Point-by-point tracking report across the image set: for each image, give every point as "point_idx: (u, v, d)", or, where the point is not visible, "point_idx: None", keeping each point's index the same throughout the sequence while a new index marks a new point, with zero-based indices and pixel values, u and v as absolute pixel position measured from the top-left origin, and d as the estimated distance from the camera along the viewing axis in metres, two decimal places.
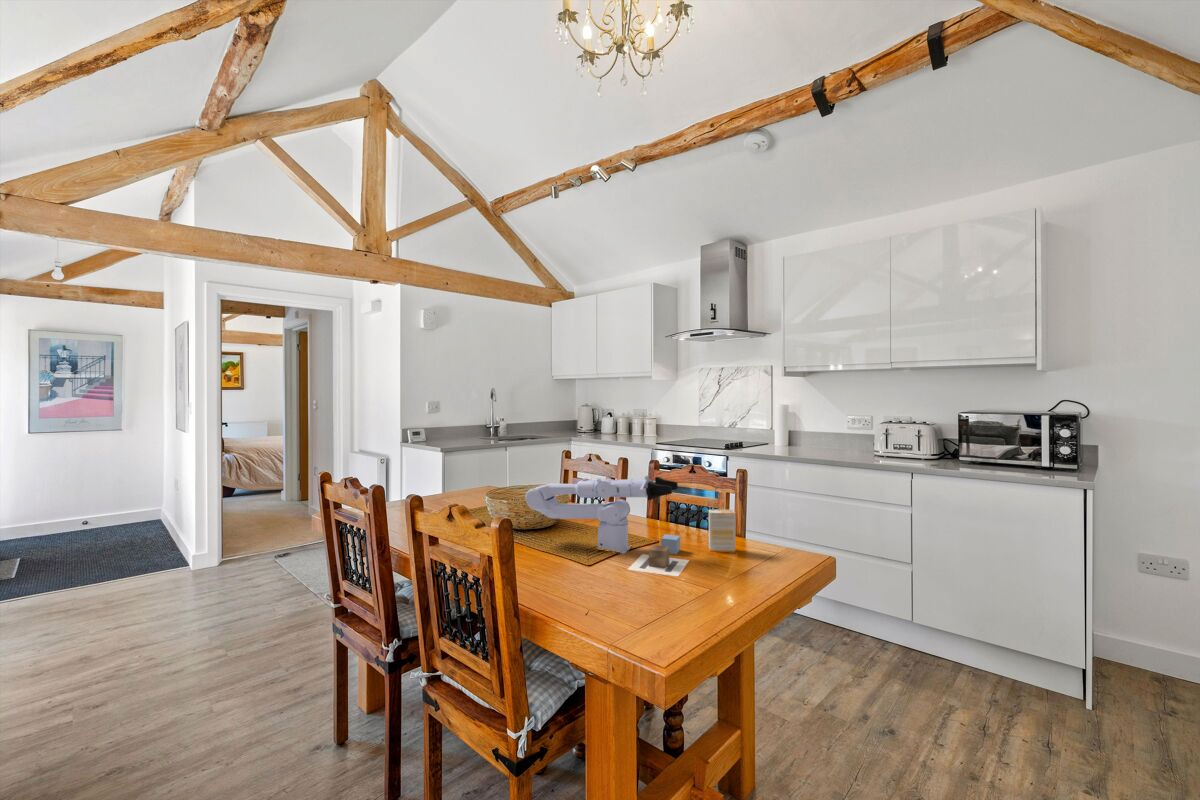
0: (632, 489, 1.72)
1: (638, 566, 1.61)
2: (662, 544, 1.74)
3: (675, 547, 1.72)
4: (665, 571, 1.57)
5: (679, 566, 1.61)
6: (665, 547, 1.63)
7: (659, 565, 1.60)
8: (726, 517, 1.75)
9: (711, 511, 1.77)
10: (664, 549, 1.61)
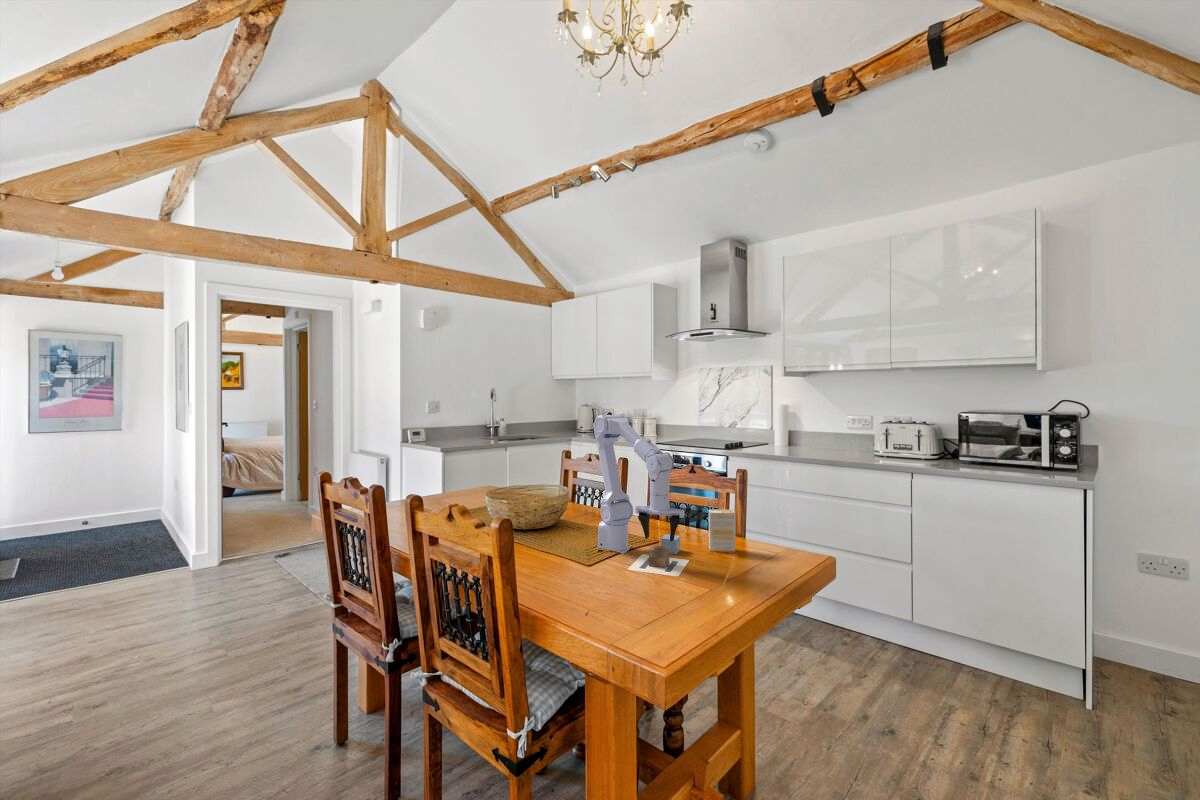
0: None
1: (638, 566, 1.61)
2: (662, 544, 1.74)
3: (675, 547, 1.72)
4: (665, 571, 1.57)
5: (679, 566, 1.61)
6: (665, 547, 1.63)
7: (659, 565, 1.60)
8: (726, 517, 1.75)
9: (711, 511, 1.77)
10: (664, 549, 1.61)
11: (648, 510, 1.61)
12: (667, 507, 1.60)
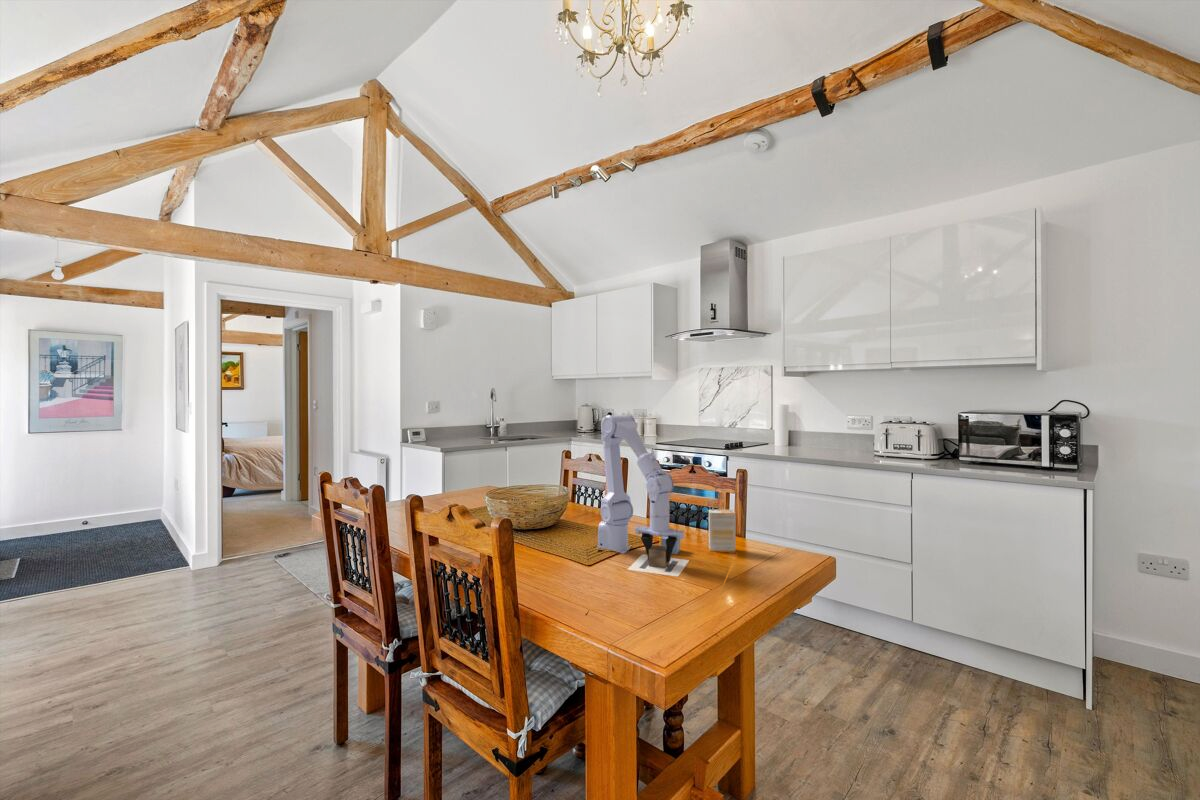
0: None
1: (638, 566, 1.61)
2: (662, 544, 1.74)
3: (675, 547, 1.72)
4: (665, 571, 1.57)
5: (679, 566, 1.61)
6: (665, 547, 1.63)
7: (659, 565, 1.60)
8: (726, 517, 1.75)
9: (711, 511, 1.77)
10: (664, 549, 1.61)
11: (648, 531, 1.61)
12: (667, 528, 1.60)
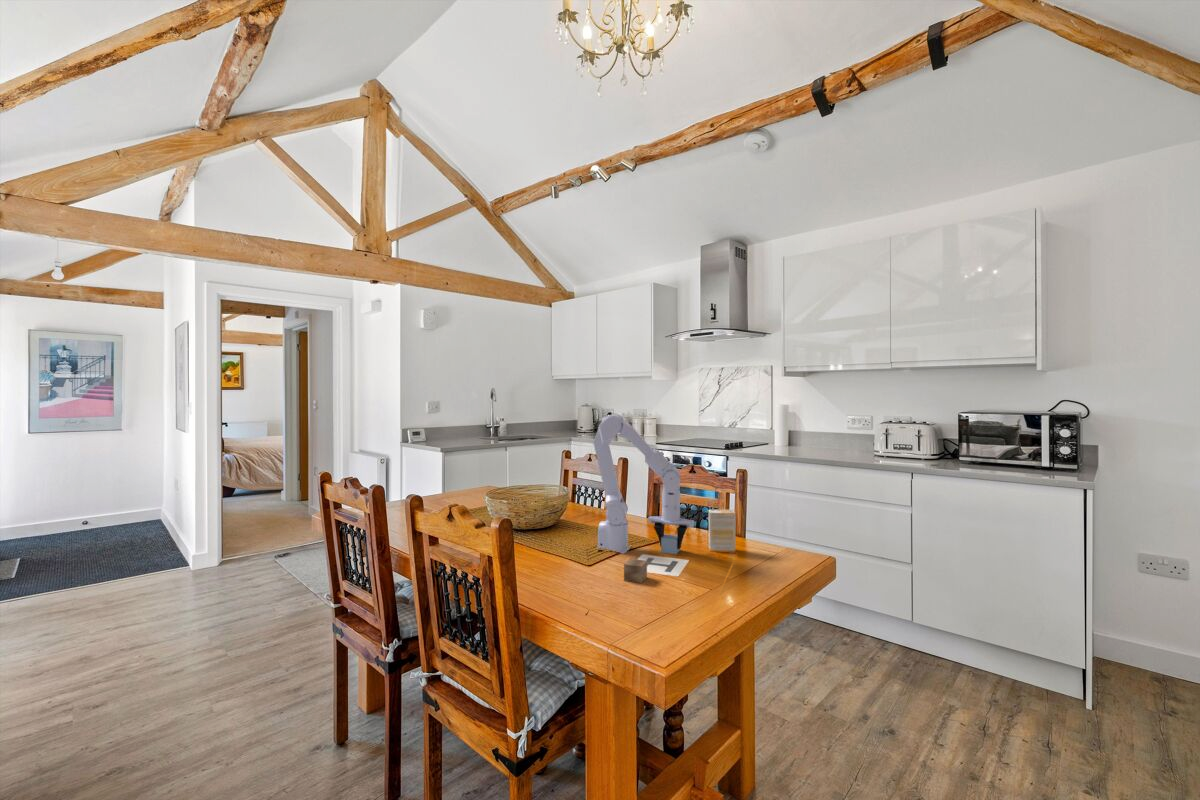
0: None
1: None
2: (662, 544, 1.74)
3: (675, 547, 1.72)
4: (665, 571, 1.57)
5: (679, 566, 1.61)
6: (642, 561, 1.51)
7: (635, 581, 1.48)
8: (726, 517, 1.75)
9: (711, 511, 1.77)
10: (641, 564, 1.49)
11: (660, 520, 1.74)
12: (678, 518, 1.73)
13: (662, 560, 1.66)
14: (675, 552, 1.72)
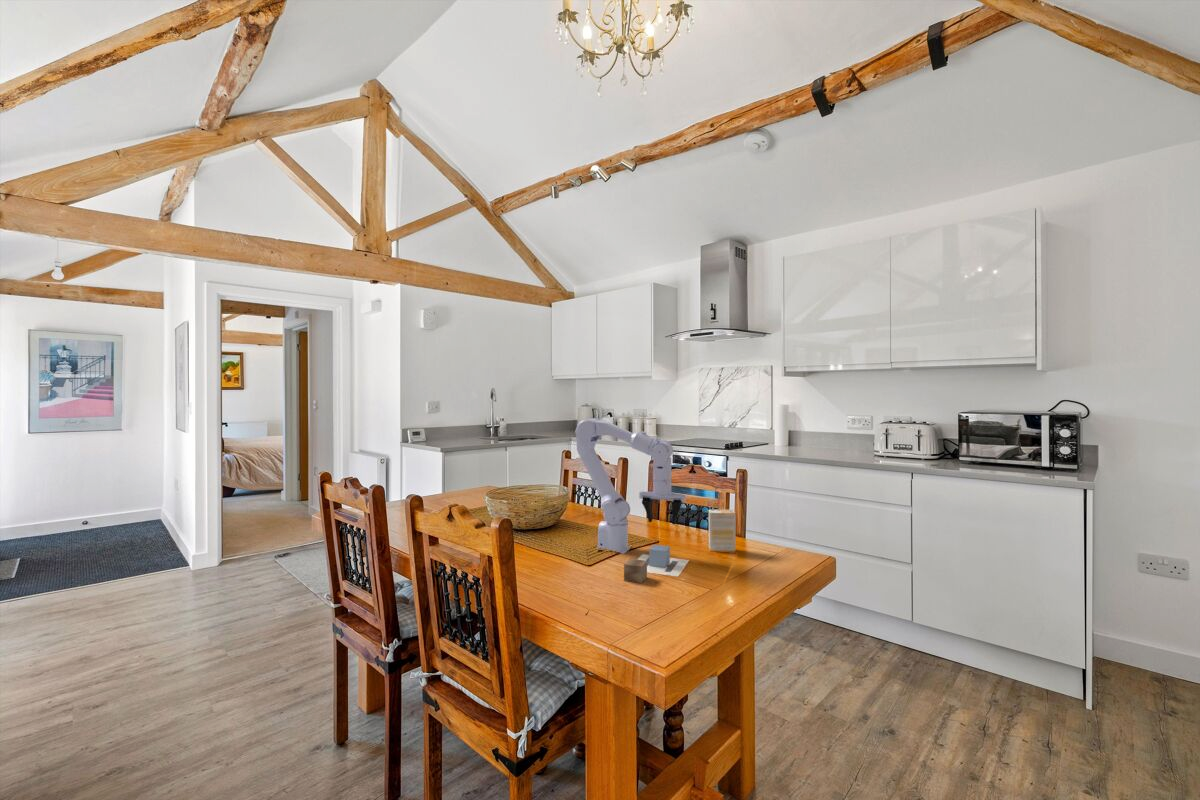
0: None
1: None
2: (650, 555, 1.61)
3: (664, 559, 1.60)
4: (665, 571, 1.57)
5: (679, 566, 1.61)
6: (642, 561, 1.51)
7: (635, 581, 1.48)
8: (726, 517, 1.75)
9: (711, 511, 1.77)
10: (641, 564, 1.49)
11: (651, 495, 1.71)
12: (669, 492, 1.70)
13: None
14: (664, 564, 1.60)
